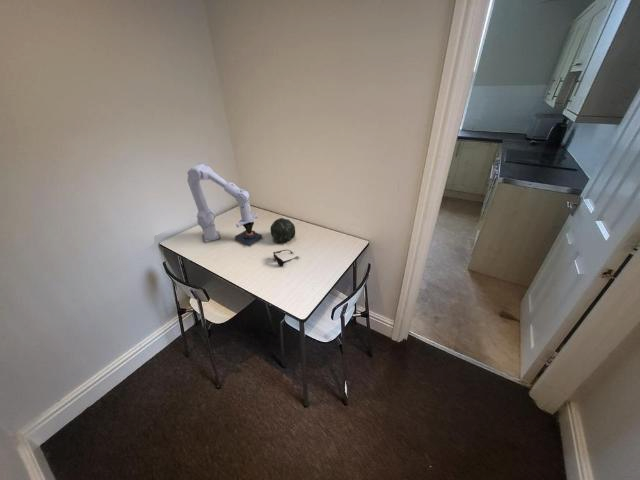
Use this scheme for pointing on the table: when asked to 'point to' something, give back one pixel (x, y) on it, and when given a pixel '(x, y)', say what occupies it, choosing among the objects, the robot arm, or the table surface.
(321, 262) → the table surface
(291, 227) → the squash
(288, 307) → the table surface
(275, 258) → the sunglasses
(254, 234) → the dark blue button base
